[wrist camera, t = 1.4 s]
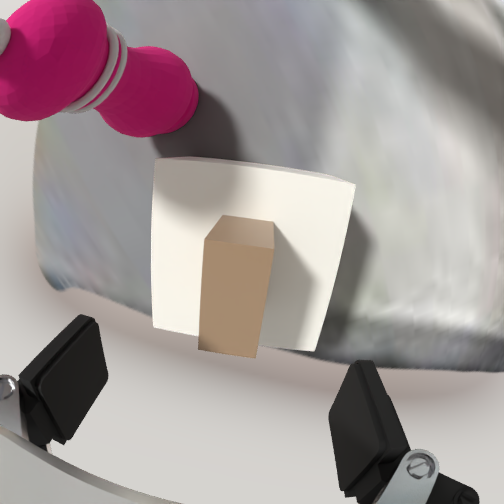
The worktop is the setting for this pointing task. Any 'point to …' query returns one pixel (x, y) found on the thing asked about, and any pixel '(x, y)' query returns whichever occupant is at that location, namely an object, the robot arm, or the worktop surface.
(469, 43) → the worktop surface
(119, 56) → the pepper mill
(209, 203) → the cover
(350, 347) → the worktop surface
